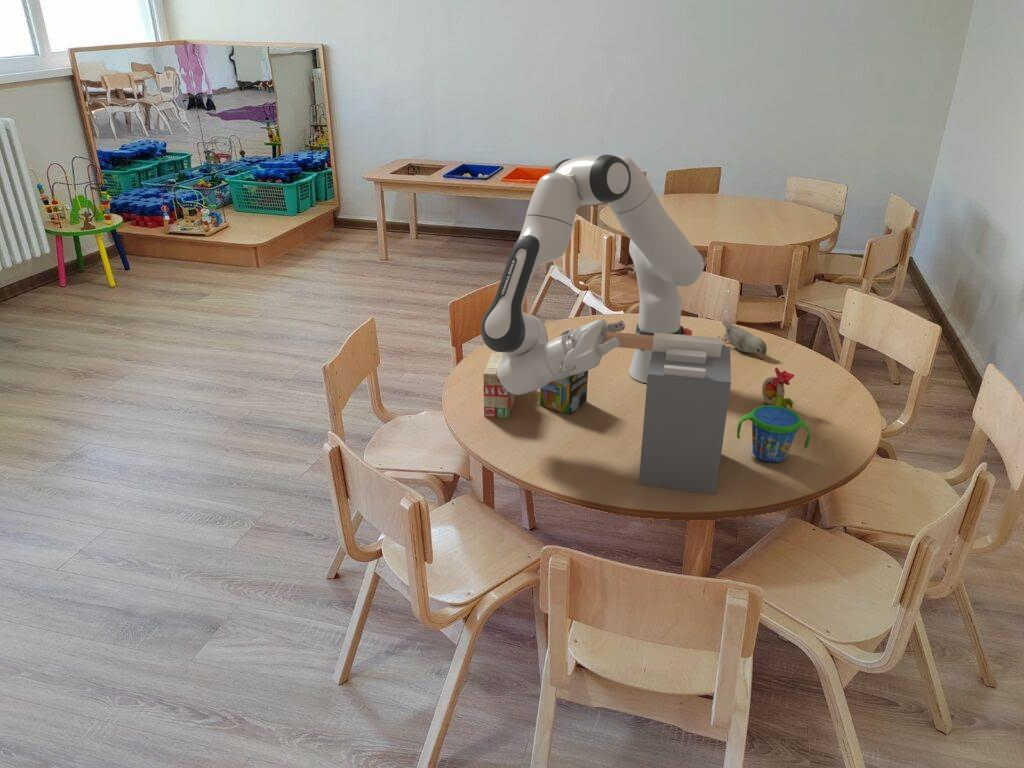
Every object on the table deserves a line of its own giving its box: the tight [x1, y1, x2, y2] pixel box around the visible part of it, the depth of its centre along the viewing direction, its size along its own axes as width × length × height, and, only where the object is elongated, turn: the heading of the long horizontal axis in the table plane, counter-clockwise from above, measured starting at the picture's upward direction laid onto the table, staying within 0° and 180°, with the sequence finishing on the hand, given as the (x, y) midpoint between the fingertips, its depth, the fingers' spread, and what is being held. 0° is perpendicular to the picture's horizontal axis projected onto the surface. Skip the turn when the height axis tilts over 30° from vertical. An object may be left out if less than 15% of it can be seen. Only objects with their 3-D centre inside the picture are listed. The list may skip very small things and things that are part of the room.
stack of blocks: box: [482, 351, 516, 419], centre depth 198 cm, size 21×6×12 cm, turn 172°
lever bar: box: [605, 331, 723, 357], centre depth 164 cm, size 24×3×3 cm, turn 76°
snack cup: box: [736, 404, 811, 463], centre depth 173 cm, size 16×10×10 cm
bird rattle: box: [761, 366, 795, 409], centre depth 194 cm, size 6×11×9 cm
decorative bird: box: [718, 319, 768, 360], centre depth 227 cm, size 5×16×8 cm, turn 37°
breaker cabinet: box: [638, 345, 732, 496], centre depth 164 cm, size 16×18×28 cm
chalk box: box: [539, 370, 589, 416], centre depth 195 cm, size 9×9×15 cm
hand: (621, 332), depth 165 cm, fingers open, 8 cm apart
